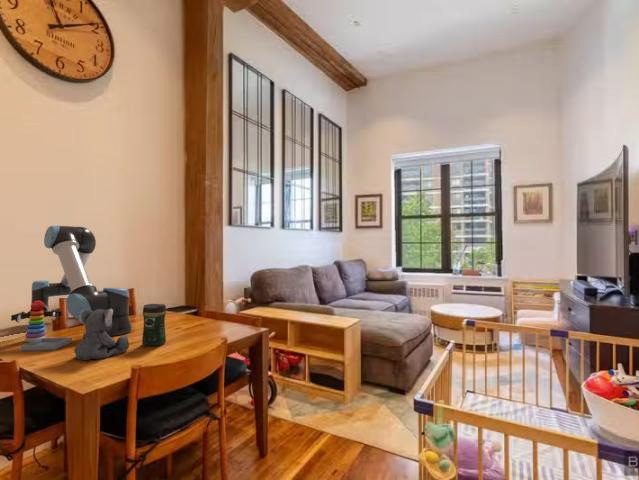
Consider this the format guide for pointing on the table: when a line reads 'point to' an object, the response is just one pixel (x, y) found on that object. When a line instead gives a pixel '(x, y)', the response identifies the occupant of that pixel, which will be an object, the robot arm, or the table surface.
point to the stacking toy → (36, 322)
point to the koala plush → (98, 336)
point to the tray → (46, 344)
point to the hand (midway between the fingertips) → (36, 318)
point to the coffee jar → (154, 324)
